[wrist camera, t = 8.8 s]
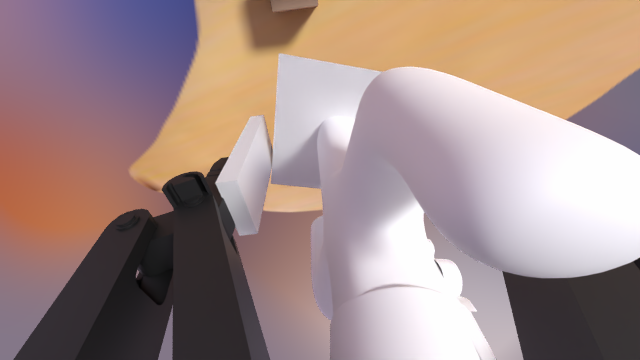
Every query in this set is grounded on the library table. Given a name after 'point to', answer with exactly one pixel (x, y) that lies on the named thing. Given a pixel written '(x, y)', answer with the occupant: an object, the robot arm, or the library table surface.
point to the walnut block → (292, 5)
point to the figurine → (440, 200)
